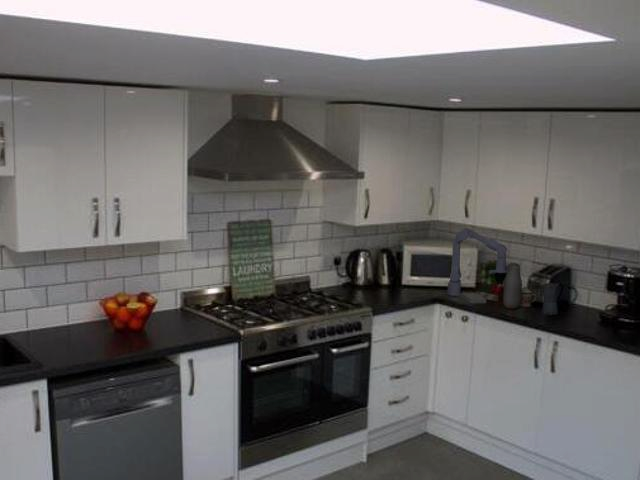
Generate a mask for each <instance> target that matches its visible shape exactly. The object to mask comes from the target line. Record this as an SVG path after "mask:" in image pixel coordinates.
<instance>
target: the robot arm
mask: <svg viewBox="0 0 640 480" xmlns="http://www.w3.org/2000/svg"><path fill="white" fill-rule="evenodd" d="M467 239H469V240H470V239H474V240H477V241H478V242H481V243H484V244H485V246H486V248H488V249H490V250H492V251H494V252H496V253H497V255H496V262H495V269H494V270H493V269H491V270H488V274H489V275H492V274H493V275H494V277H495V281H496V286H499V285H500V286H503V285H504V281H505V277H506V274H507V270H506V262H507V261H506V260H507V251H508V248H507V246H506V245H505V244H502V243H501V242H497V241H496V240H495V239H494V238H489V239H488V238H486V237H484V236H483V235H481V234H479V233H478V232H476V231H475V230H472V229H469V228H467V227H465V228H462V229H461V230H460V231H458V232H457V234H456V235H455V236H454V238H453V239H452V260H451V261H452V262H451V264H452V265H451V272H450V274H449V281H448V283H447V291H446V294H447V295H449V296H451V297H453V296H454V297H455V296H460V297H461V287H462V286H461V285H462V280H461V278H462V272H461V267H460V264H461V262H460V261H461V243H462V242H463V241H465V240H467Z"/></svg>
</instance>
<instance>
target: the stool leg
mask: <svg viewBox="0 0 640 480" xmlns="http://www.w3.org/2000/svg"><path fill="white" fill-rule="evenodd" d="M476 293H477V294H479V295H480V296H482V297H484V298H485V299H486V300H489V301H493V302H497V301H498V302H499V295H495V294H492V293H487V292H483V291H479V290H478V291H476Z"/></svg>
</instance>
